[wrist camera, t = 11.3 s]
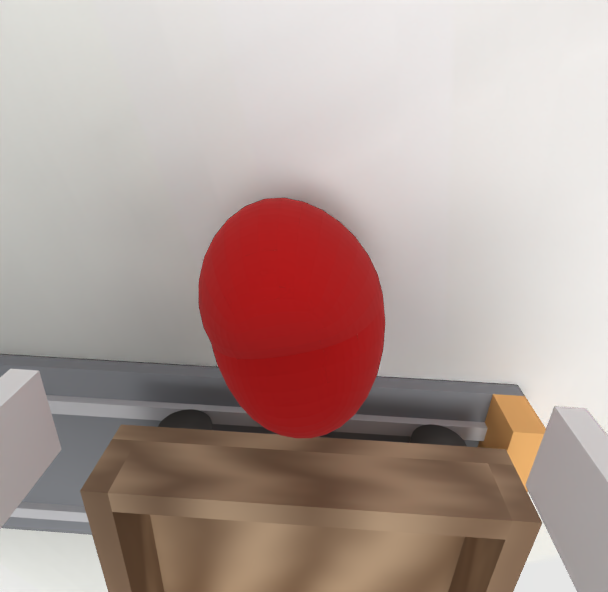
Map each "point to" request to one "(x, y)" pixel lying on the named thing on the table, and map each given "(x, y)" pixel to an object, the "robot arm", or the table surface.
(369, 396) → the track
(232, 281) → the light bulb
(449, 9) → the table surface
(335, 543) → the tray
